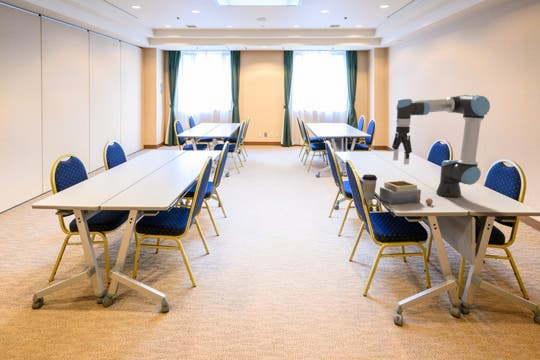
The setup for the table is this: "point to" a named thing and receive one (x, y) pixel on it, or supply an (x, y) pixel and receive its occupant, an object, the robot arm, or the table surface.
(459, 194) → the robot arm
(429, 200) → the ball
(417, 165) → the table surface
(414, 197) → the open square box
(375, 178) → the coffee cup
